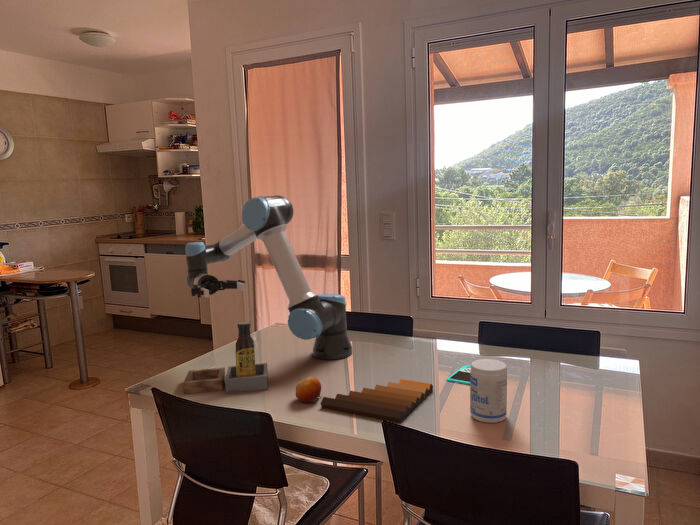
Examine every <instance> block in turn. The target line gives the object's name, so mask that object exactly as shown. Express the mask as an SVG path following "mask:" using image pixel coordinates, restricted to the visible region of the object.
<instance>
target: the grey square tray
mask: <svg viewBox="0 0 700 525" xmlns="http://www.w3.org/2000/svg"><path fill="white" fill-rule="evenodd" d="M226 370H227V371H226V373H225V376H226V377H225V381H224V384H225V394H236V393H245V392H247V393H248V392H257V391H265V390H266V391H267V390H268V387H269V385H268V384H269V382H268V380H269V374H268V373H269V372H268V362H265V363H263V362H262V363H255V371H256V376H251V377H240V378H237V376H236V365H229V366H227V369H226Z"/></svg>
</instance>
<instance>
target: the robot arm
mask: <svg viewBox="0 0 700 525" xmlns="http://www.w3.org/2000/svg"><path fill="white" fill-rule="evenodd" d="M293 217H294V206H293V204H292V202H291V201H290V200H289V199H288V198H286V197H285V196H282V195H267V196H263V195H262V196H261V195H260V196H257V197H252V198H250V199H248V200H247V201H246V202H245V203H244V204H243V209H242V211H241V218H242V222H243V225H242V226H240V227H239V228H237V229H236V230H234V231H233V232H231V233H229V234H228V235H226V236H225V237H223V238H222V239H220V240H219V241H217V242H216V243H213V244H207V245H205V243H204V241H203V242H202V241H196V242H194V241H193V242H188V243H186V244H185V258H186V259H185V260H186V265H187V266H186V267H187V276H186V277H185V283H186V285H187V287H188V288H189V289H190V292H191V297H195V296H196V295H197V296H196V297H197V298H201V297H204V298H207V299H210V296H212V295H215V294H217V292H218V291H225V290H233V289H234V290H235V289H236V290H238V291H241V292H244V293H245V292H247V285H246V281H245V280H241V279H238V280H232V279H226V280H219V279H218V278H217V277H216V276H215V275H211V274H208V265H209V264H214V263H219V262H225V261H227V260H230V259H231V258H232V257H233V255H234V254H235V253H237V252H238V251H240V250H242V249H243V248H245V247H247V246H249V245H250V244H251V243H253V242H254V241H256V240H259V241H262V242H263V245H264V247H265V249H266V250H267V254H268V256H269V258H270V260H271V262H272V265H273V267H274V269H275V272H276V273H277V276H278V279H279V281H280V283H281V285H282V287H283V290H284V292H285V294H286V297H287V299H288V302H289V303H288V306H287V310H288V312H289V314H288V316H287V317H288V319H287V325H288V329H289V330H290V332H291V333H292V334H293V336H295V337H296V338H299V339H300V340H304V341H305V340H312V339H314V343H313V348H312V356H313V357H314V358H316V359H319V360H326V361H327V360H331V361H332V360H340V359H345V358H348V357H350V356H351V355H352V354H353V345H352V343H351V340H350V337H349V334H348V332H347V330H348V328H347V327H348V326H347V325H348V324H347V307H346V306H347V303H346V298H345V296H344V295H342V294H337V293H336V294H335V293H321V294H320V293H319V294H317V293H314V292H313V291H312V290H311V287H310V285H309V283H308V281H307V279H306V276H305V274H304V271H303V270H302V268H301V267H302V266H301V265H300V263H299V260H298V258H297V256H296V253H295V251H294V249H293V247H292V244H291V242H290V240H289V237H288V235H287V233H286V230H287V226H288V224H289V223H290V222H291V221H292V219H293Z"/></svg>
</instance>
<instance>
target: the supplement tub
mask: <svg viewBox="0 0 700 525" xmlns="http://www.w3.org/2000/svg"><path fill="white" fill-rule="evenodd" d="M470 365H471V370H470V385H469V387H470V388H469V391H470V392H469V394H470V395H469V407H470V408H469V410H470V412H469V413H470V416H471V417H472V418H473V419H475V420H477V421H479V422H480V423H488V424H497V423H500V422H503V421H504V420H505V419H506V418H507V410H508V408H507V407H508V405H507V404H508V403H507V402H508V400H507V399H508V367H507V364H506V363H505V362H503V361H502V360H498V359H492V358H479V359H476V360H473V361H472V362H471V363H470Z"/></svg>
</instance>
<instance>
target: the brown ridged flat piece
mask: <svg viewBox="0 0 700 525" xmlns="http://www.w3.org/2000/svg"><path fill="white" fill-rule="evenodd" d="M433 391H434V384H432V383H427V382H423V381H414V380H408V379H402V378H400V380H399V383H397V382H391V381H388V382H387V385H380V384H376V385H375V386H374V388H366V387H363V388H362V390H361V391H354V390H350V391H349V393H348V394H341V393H336V396H335V398H332V397H327V396H323V398H322V399H321V402H320V405H321V408H322V409H325V410H326V409H327V410H332V411H337V412H341V413H347V414H352V415H357V416H362V417H367V418H371V419H372V418H373V419H376V420H377V419H378V420H383V421H388V422H393V423H398V424H401V423H402V422H403V421H405V419H406V418H408V417H409V415H410V414H411V413H412V412H414V411H415V409H416V408H418V406H419V405H420V404H421V403H422V402H424V401H425V399H426V398H427V397H428V396H429V395H430V394H431V393H433Z"/></svg>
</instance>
